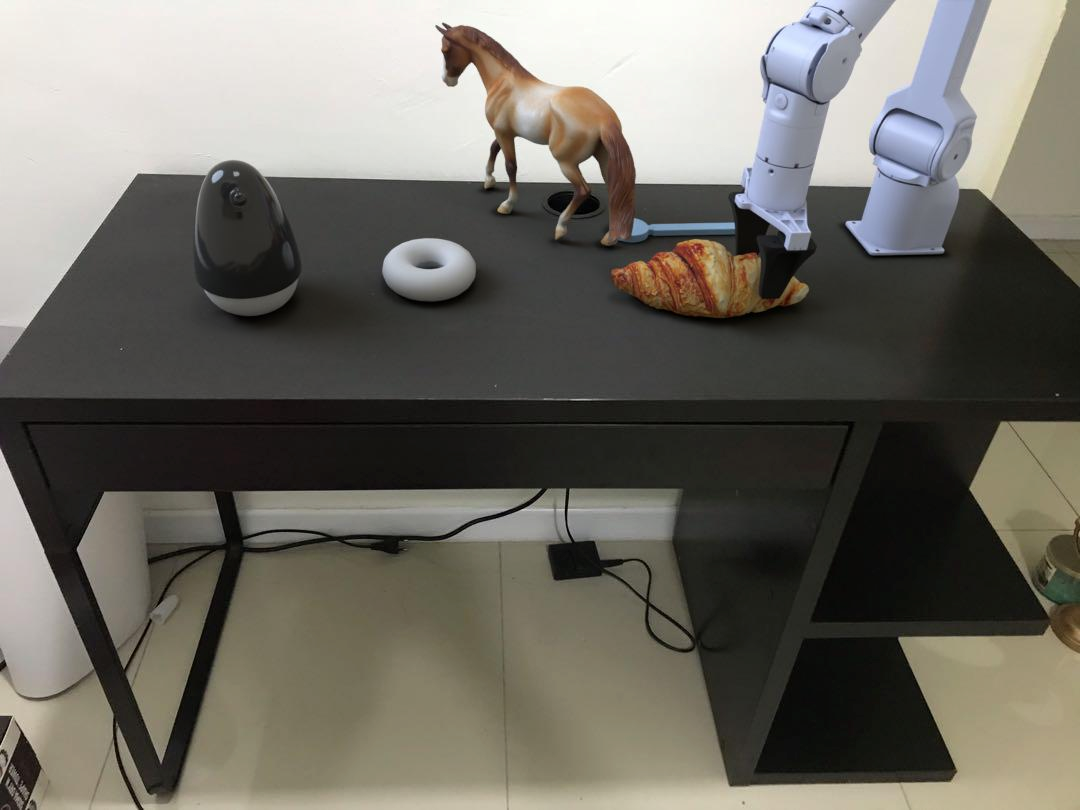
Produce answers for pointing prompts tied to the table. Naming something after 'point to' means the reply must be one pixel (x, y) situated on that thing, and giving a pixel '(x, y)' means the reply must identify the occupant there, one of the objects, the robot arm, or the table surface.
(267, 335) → the table surface
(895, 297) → the table surface
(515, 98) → the horse figurine
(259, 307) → the pump dispenser
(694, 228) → the spoon
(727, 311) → the croissant
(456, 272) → the donut
